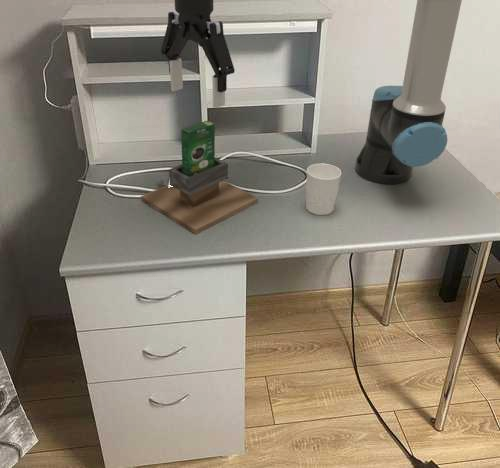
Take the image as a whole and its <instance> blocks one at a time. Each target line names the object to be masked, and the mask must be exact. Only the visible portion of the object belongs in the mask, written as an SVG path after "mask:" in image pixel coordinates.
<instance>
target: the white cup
mask: <svg viewBox="0 0 500 468" xmlns="http://www.w3.org/2000/svg"><path fill="white" fill-rule="evenodd" d="M341 179H342V170H341V169H340V168H339V167H337V166H336V165H334V164H328V163H313V164H311V165H309V166H308V167H307V168H306V184H305V186H306V187H305V197H306V198H305V200H306V201H305V208H306V211H308V212H309V213H311V214H314V215H317V216H326V215H330V214H332V213H333V211H335V205H336V202H337V197H338V193H339V187H340V182H341Z"/></svg>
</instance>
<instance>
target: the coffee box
mask: <svg viewBox="0 0 500 468" xmlns="http://www.w3.org/2000/svg"><path fill="white" fill-rule="evenodd" d="M215 127H216V124H215V123H214V122H212V121H209V120H205V121H202V122H199V123H196V124H192V125H189V126H185V127H182V128H181V129H180V133H181V138H180V139H181V162H182V163H181V164H182V173H183V174H185V175H186V176H188V177H191V176H193V175H195V174H198V173H200V172H203V171H205V170H207V169H210V168H212V167H214V166H215V158H216V157H215V156H216V155H215V151H216V150H215V144H216V142H215V141H216V140H215V138H216V134H215V130H216V128H215Z"/></svg>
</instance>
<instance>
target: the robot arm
mask: <svg viewBox="0 0 500 468" xmlns="http://www.w3.org/2000/svg"><path fill="white" fill-rule="evenodd" d="M462 1H463V0H416V7H415V10H414V11H415V12H414V16H413V17H414V19H413V25H412V29H411V35H410V40H409V42H410V43H409V46H408V47H409V48H408V53H407V57H406V58H407V59H406V63H405V64H406V66H405V70H404V76H403V83H402V85H383V86H380V87H377V88H376V89H375V90H374V93H373V96H372V98H371V99H372V100H371V107H370V108H371V109H370V114H369V119H368V126H367V132H366V139H365V143H364V144H363V147H362V148H361V149H360V152H359V154H358V155H357V157H356V160H355V164H354V165H355V166H354V168H355V172H356V174H358V175H359V176H360V177H362V178H363V179H365V180H368V181H371V182H374V183H376V184H377V183H378V184H384V185H396V184H401V183H405V182H407V181H408V180H410V179H411V177H412V174H413V168H414V167H415V168H416V167H424V166H426V165H429V164H430V163H432V162H433V161H434V160H437V159H438V158H439V157H440V156H441V155H442V154H443V152H444V151H445V149H446V148H447V144H448V134H447V131H446V129H445V127H444V126H443V122H444V117H445V115H446V114H445V113H446V109H447V108H446V107H447V106H446V105H445V103H444V102H443V101H442V99H441V98H442V93H443V89H444V85H445V80H446V79H445V78H446V74H447V71H448V66H449V61H450V57H451V51H452V47H453V42H454V38H455V33H456V29H457V24H458V20H459V16H460V11H461V5H462ZM213 11H214V0H174V11H168V13H167V26H166V30H165V33H164V37H163V41H162V46H161V49H160V50H161V51H160V53H161V55H163V56H166V57H165V58H166V59H167V61H168V71H169V72H168V73H169V75H170V87H171V88H170V89H171V91H172V92H177V91H180V90H183V89H184V83H183V82H184V81H183V63H182V58H181V57H182V56H181V53H182V52H183V50H184V48H185V47H186V45H187V43H188V41H192V42H194V43H197V44H198V46H199V47H202V50H203V52H204V54H205V56H206V58H207V60H208V62H209V65H210V66H211V68H212V70H213V72H214V75H212V108H215V109H217V108H219V107H223V106H225V105H226V91H227V90H228V89H227V88H228V87H227V84H228V83H227V82H228V80H227V78H228V77H227V76H228V75H233V74H235V72H236V71H235V67H234V63H233V60H232V57H231V54H230V50H229V48H228V43H227V41H226V37H225V33H224V24H223V22H222V21H216V22H214V21H213V22H212V20H211V14H212V13H213Z"/></svg>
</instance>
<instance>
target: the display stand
mask: <svg viewBox="0 0 500 468" xmlns="http://www.w3.org/2000/svg"><path fill="white" fill-rule="evenodd" d="M228 169H229V163H228V162H226V161H223V160H221V159H219V158H217V157H215V166H214V167H212V168H210V169H207V170H205V171H203V172H200V173H198V174H195V175H193V176H191V177H188V176H186V175H185V174H183V173H182V163H181V164H178V165H177V166H173V167H171V168H169V169H168V175H169V184H170V185H171V186H173V187H170V188H168V185H169V184H167V185H164V186H162V187H159V188H157V189H154V190H153V191H150V192H148V193H145V194H143V195H141V196H140V201H141V202H143V203H144V204H146V205H148V206H150V207H151V208H153V209H154V210H156V211H157V212H159V213H161V214H163V215H164V216H165V217H167V218H169V219H170V220H172V221H174V223H175V222H176V223H177V224H178V225H180V226H182V227H184V228H185V229H186V230H188V231H189V232H191V233H192V234H195V235H198V234H199V233H201V232H203V231H205V230H208V229H209V228H210V227H213V226H215V225H217V224H220V223H221V222H223V221H224V220H227V219H228V218H230V217H232V216H234V215H236V214H238V213H241V212H242V211H245V210H246V209H248V208H250V207H253V206H254V205H256V204H258V203H259V198H258V197H257V196H255V195H253V194H251V193H249V192H247V191H245V190H243V189H241V188H239V187H237V186H235V185H233V184H232V183H229V182H228V181H225V180H227V179H228V178H229V177H228V174H229V170H228Z"/></svg>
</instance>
